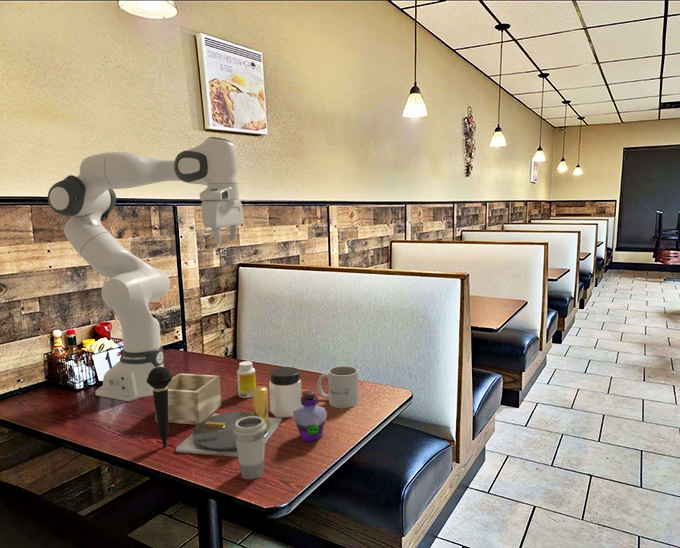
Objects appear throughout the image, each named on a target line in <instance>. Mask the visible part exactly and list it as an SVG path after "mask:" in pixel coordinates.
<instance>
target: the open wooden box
mask: <svg viewBox="0 0 680 548" xmlns="http://www.w3.org/2000/svg"><path fill="white" fill-rule="evenodd" d="M167 387H168V423H173V424H174V423H175V424H183V425H184V424H188V425H195V426H197V425H198V424H199V423H200V422H202V421H203V420H205V419H207V418H210V417H211V416H212V415H213V414H214V413H215V412H216V411H217V410H218V409H219V408H221V406H222V390H221V389H222V388H221V376H220V375H216V374H215V375H211V374H198V373H197V374H195V373H177V374H176V375H174V376H172V380H171V381H170V382H169V384H168V385H167ZM154 413H155V422H157V418H156V411H155V410H154Z"/></svg>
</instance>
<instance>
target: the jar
mask: <svg viewBox="0 0 680 548" xmlns="http://www.w3.org/2000/svg"><path fill="white" fill-rule="evenodd" d="M300 375H301V374H300V370H299V369H298V368H296V367H294V366H293V367H292V366H282V367H277V368H274V369H272V370H271V371H270V373H269V377H270V380H269V381H268V384H269V387H268V388H269V404H270V405H269V406H270V408H269V409H270V410H269V411H270V413H271V414H272V415H273V416H274V418H294V414H293V411H295V410H296V409H298V408H300V407H303V405H302V404H301V397H302V396H303V392H302V380H301V379H300Z"/></svg>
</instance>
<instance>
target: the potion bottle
mask: <svg viewBox="0 0 680 548" xmlns="http://www.w3.org/2000/svg"><path fill="white" fill-rule="evenodd" d="M316 393H317V392H316V391H314V390H308V391H304V392H302V397H301V404H302V407H300V408H298V409H296V410H295V411H293V414H294V416H293V418H294V422H295V424H296V425H295V426H296V428H297V430H298V433H299V434H298V435H299V437H300V440H301V441H303V442H307V443H311V442H316V441H319V440H320V439H322V437H323V431H324V427H325V425H326V420H327V415H328V412H327V411H326V409H325V408H326V407H324V406H318V404H319V397H318V395H317V394H316Z"/></svg>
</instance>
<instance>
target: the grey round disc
mask: <svg viewBox="0 0 680 548" xmlns="http://www.w3.org/2000/svg"><path fill="white" fill-rule="evenodd" d="M252 392H253V397H252V408H253V409H252V410H253V412H252V411H230V412H224V413H218V414H219V415H215V416H212V415H211V416H212V417H211V416H209V417H208V418H207V419H205V420H203V421H202V422H200V423H199V424H198V425H195V426H194V428H193V430H192V433H193V440H194V442H195V443H196V444H198V445H199V446H201V447H204V448H208V449H214V450H229V449H237V445H236V434H235V433H234V432H233V428H234V426H235V423H236V421H238V420H239V419H241V418H244V417H249V416H257V417H261V418H262V419H263V420H264V422H265V423H266V425H267V427H266V429H265V430H264V433H265V436H266V435H267V434H268V433H269V431H270V422H269V418H270V416H269V397H268V396H269V395H268V387H267V386H265V385H256V387H254V388H253V389H252Z"/></svg>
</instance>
